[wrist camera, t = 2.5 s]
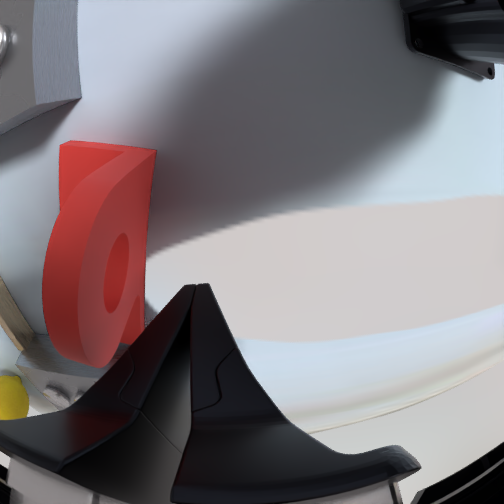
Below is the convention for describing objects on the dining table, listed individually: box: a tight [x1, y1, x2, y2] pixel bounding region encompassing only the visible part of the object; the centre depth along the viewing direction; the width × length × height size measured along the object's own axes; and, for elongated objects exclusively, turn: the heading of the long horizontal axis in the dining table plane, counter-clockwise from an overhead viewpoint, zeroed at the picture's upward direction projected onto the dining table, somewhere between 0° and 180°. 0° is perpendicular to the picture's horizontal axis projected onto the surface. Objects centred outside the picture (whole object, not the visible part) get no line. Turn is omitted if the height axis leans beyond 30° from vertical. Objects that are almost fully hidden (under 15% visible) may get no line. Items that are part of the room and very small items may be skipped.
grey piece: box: [0, 0, 130, 410], centre depth 11 cm, size 12×29×4 cm, turn 4°
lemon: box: [0, 375, 29, 420], centre depth 18 cm, size 6×6×8 cm
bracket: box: [42, 141, 157, 368], centre depth 10 cm, size 12×4×8 cm, turn 166°
